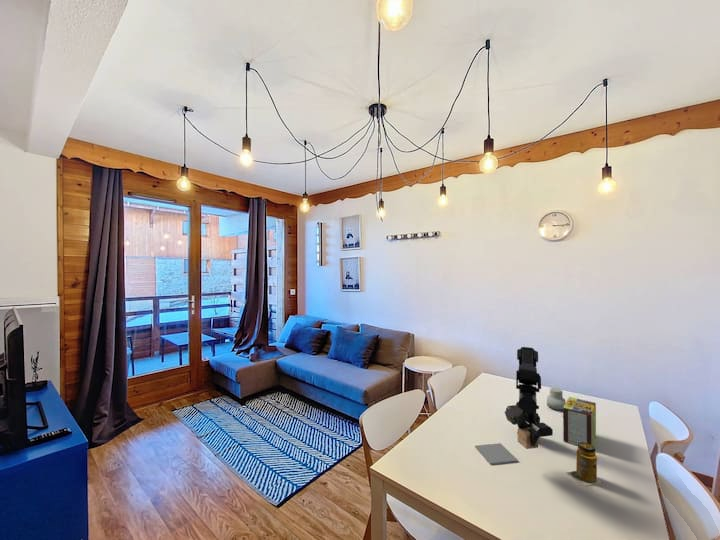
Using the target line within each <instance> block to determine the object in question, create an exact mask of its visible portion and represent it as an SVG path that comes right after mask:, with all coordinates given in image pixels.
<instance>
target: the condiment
mask: <svg viewBox="0 0 720 540" xmlns="http://www.w3.org/2000/svg"><path fill="white" fill-rule="evenodd" d="M596 453H597V452H596V447H595V446H594V444H593V445H591V444H588V443H585V442H579V443H578V446H577V449H576V462H575V463H576V464H575V465H576V470H573V471H567V472H565V473H566V474H567V475H568V476H570V477H571V478H572V479H574V480H575V481H576V482H577V483H579V484H581V485H582V486H583V487H588V486H591V485H598V484H602V483H603V481H602V480H600V479H599V478H598V477H597V474H598V473H597V472H598V471H597V470H598V467H597V466H598V465H597V464H598V461H597V460H598V457H597V455H596Z"/></svg>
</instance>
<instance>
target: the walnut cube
mask: <svg viewBox="0 0 720 540" xmlns="http://www.w3.org/2000/svg"><path fill="white" fill-rule="evenodd" d="M527 429H530V428H521V429H519V428H517V432H518V434H517V442H518V443H519V444H520V445H521V446H522V447H524V448H525V449H526V450H529V449H538V448H539V440H538V441H537V442H536V444H535V446H531V441H530V432H529V431H528V430H527Z"/></svg>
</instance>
